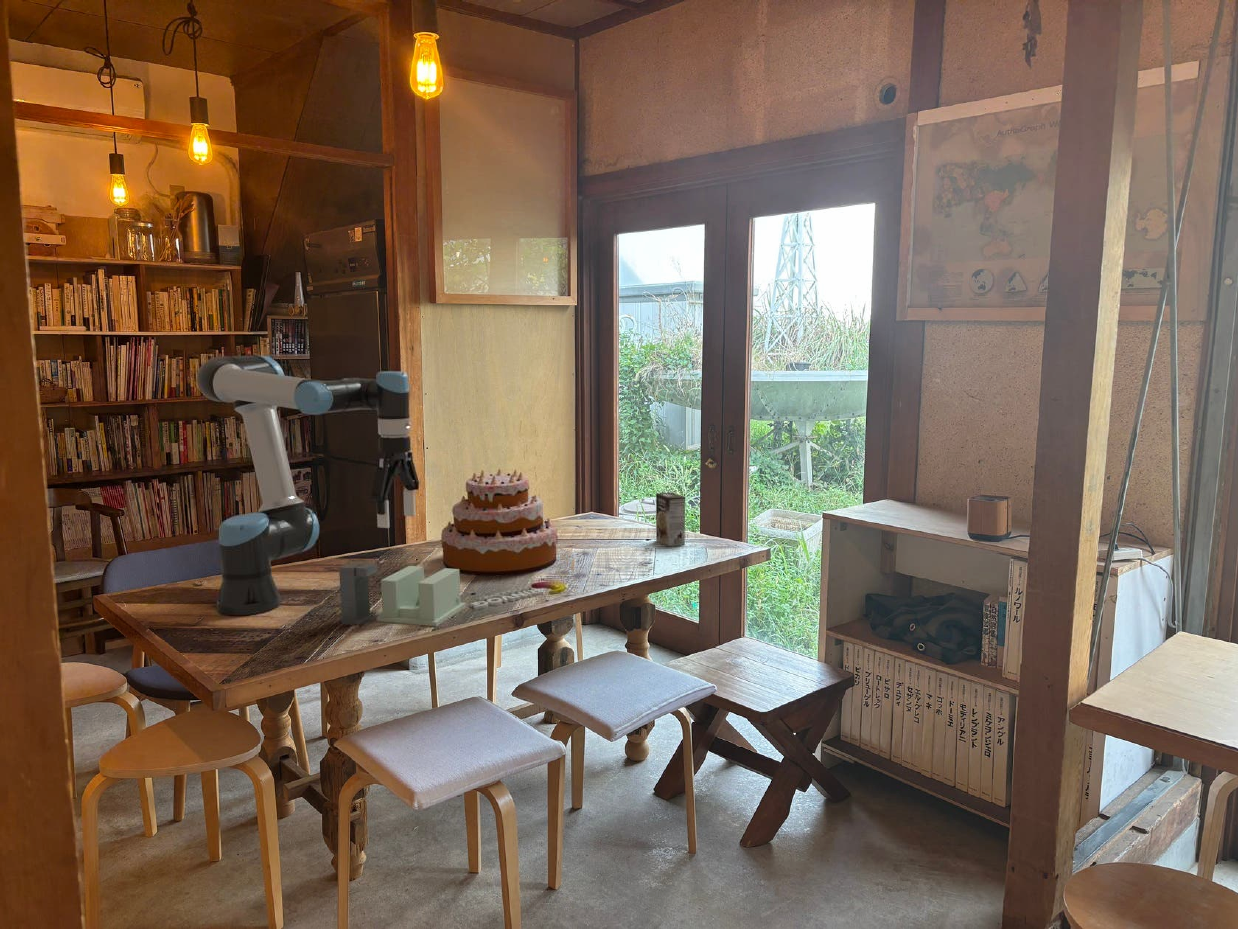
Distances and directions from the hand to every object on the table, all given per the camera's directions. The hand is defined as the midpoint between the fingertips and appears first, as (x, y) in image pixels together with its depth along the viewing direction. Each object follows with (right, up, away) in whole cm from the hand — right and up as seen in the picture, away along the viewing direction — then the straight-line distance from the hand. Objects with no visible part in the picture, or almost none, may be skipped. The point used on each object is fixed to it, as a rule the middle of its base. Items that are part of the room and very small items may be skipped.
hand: (397, 521), depth 221 cm
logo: (+28, -21, +17) cm, 39 cm away
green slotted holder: (+6, -23, +3) cm, 24 cm away
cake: (+18, -16, +53) cm, 59 cm away
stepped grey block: (-8, -24, -3) cm, 25 cm away
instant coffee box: (+72, -12, +75) cm, 105 cm away
